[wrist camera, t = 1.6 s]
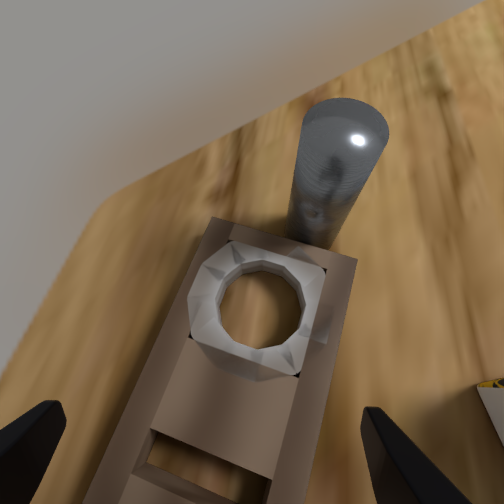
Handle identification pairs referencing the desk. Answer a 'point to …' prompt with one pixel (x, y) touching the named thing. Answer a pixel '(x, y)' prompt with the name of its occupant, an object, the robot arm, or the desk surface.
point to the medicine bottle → (494, 403)
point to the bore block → (232, 376)
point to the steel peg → (332, 167)
